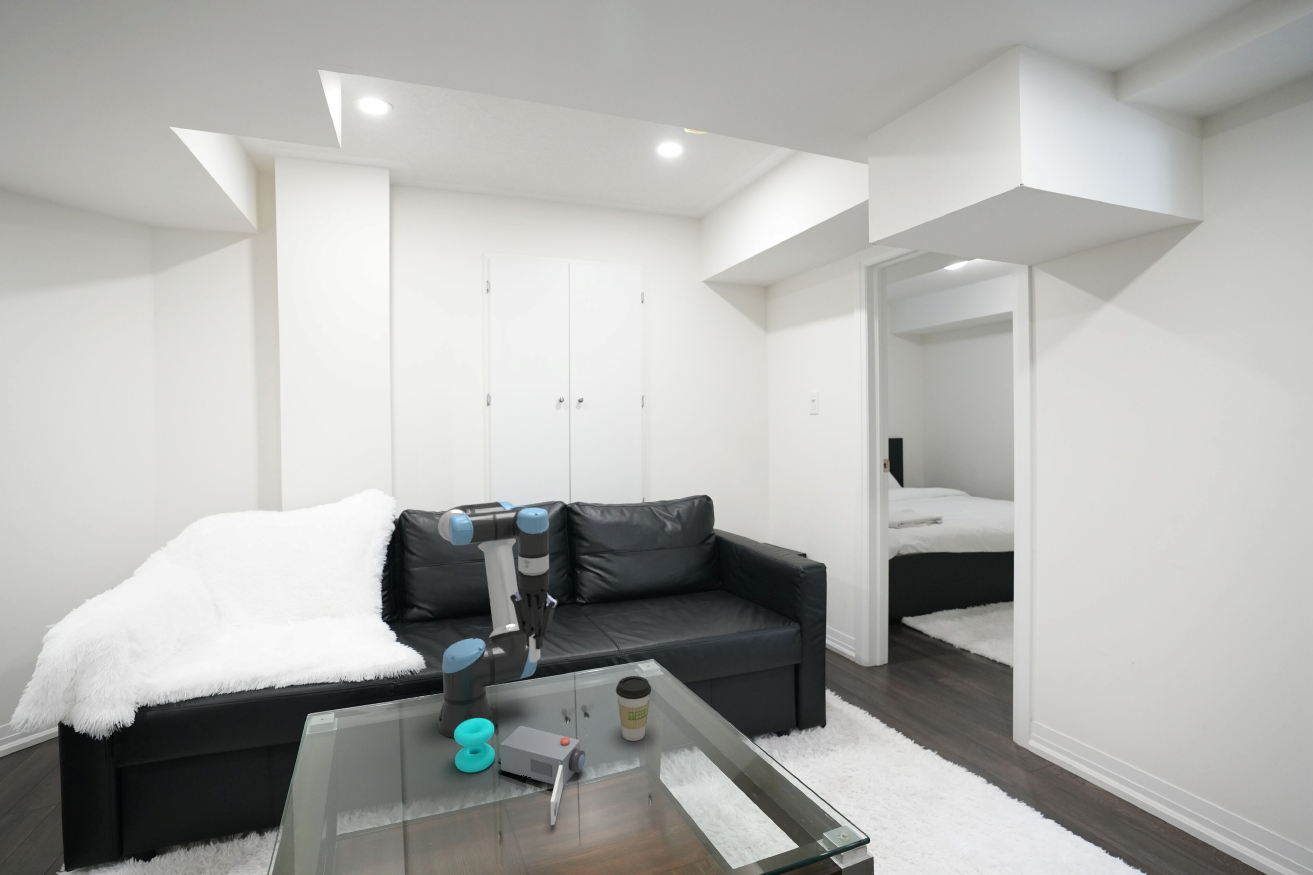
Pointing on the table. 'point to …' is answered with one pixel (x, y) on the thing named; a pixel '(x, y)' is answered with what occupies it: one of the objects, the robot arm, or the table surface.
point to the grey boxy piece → (541, 755)
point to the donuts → (474, 745)
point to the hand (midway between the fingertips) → (534, 659)
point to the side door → (556, 792)
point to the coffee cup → (633, 706)
